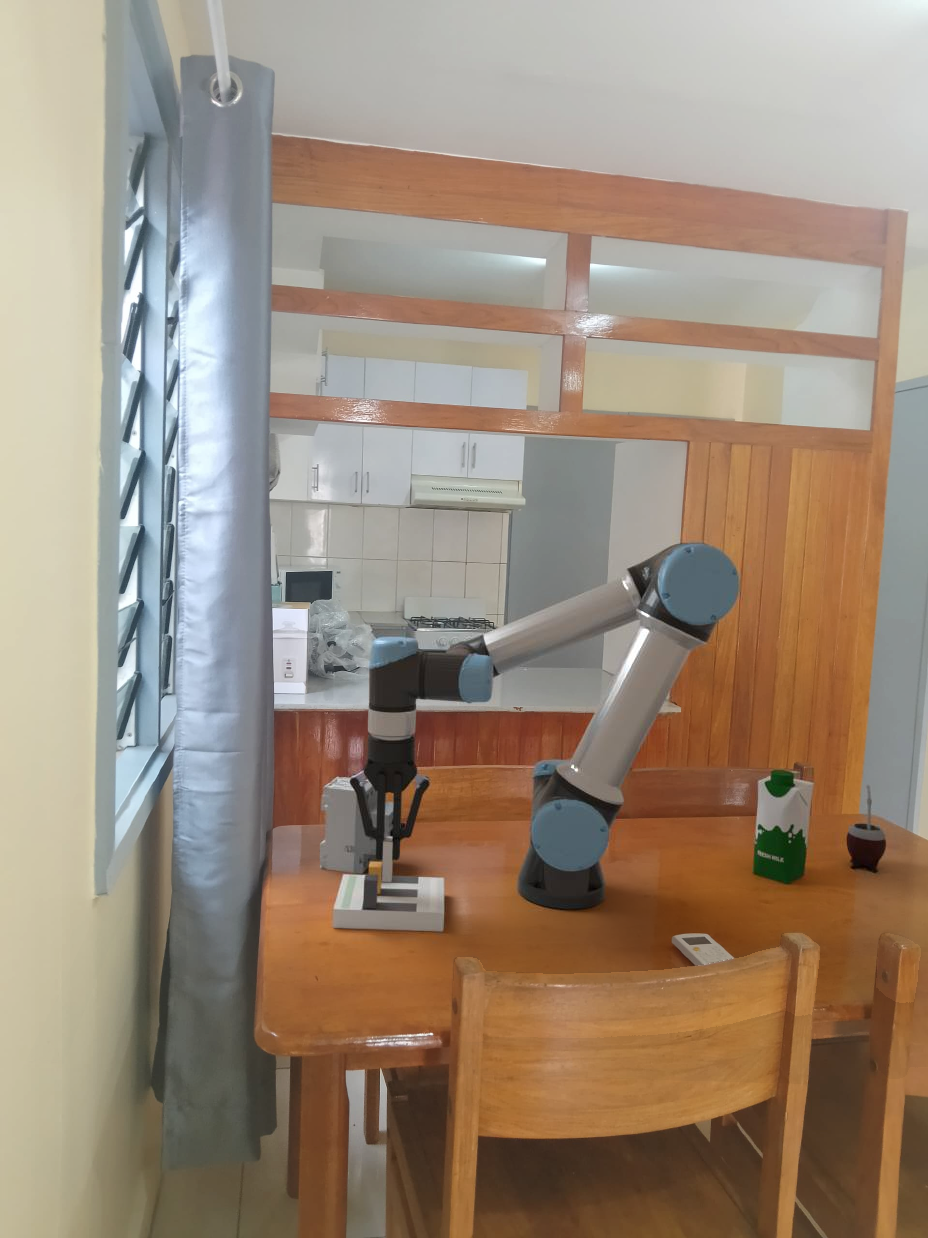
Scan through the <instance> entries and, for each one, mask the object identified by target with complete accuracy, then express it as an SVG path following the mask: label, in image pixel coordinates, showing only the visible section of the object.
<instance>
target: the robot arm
mask: <svg viewBox="0 0 928 1238" xmlns="http://www.w3.org/2000/svg"><path fill="white" fill-rule="evenodd" d="M736 567H737V566H736V565H735V563H734V562H733V561H732V559H731V558H730V557H729V556H728V554H726V553H725V552H723V551H722V550H720V549H718V548H717V547H716V546H714V545H710V544H708V543H705V542H700V541H699V542H698V541H697V542H694V541H693V542H680V543H676V544H673V545H671V546H668V547H666V548H664V549H663V550H661V551H659V552H657V553H656V554H654V555H653V556H651V557H649V558H646V559H645V560H643V561H641V562H640V563H637V564H634V565H633V566H630V567H628V568H625V569H624V570H623V573H622V575H621V576H620V577H619V578H617V579H615V580H612V581H610V582H607V583H605V584H602V585H600V586H597V587H595V588H593V589H590V590H587V591H585V592H583V593H580V594H579V595H575V596H573V597H570V598H568V599H566V600H562V601H560V602H558V603H556V604H553V605H551V606H548V607H546V608H544V609H541V610H539V611H536V612H534V613H531V614H529V615H526V616H524V617H522V618H520V619H517V620H515V621H512V622H510V623H507V624H505V625H502V626H500V627H498V628H494V629H492V630H490V631H487V632H485V633H483V634H481V635H478V636H476V637H473V638H471V639H468V640H464V641H463V640H462V641H459V642H456V643H454V644H452V645H451V646H449V648H447V649H446V650H445V652H429V651H423V650H420V648H419V642H418V640H417V639H416V638H412V637H406V636H405V637H404V636H380V637H378V638H376V639H375V640H373V641H372V643H371V649H370V658H369V659H370V661H369V666H368V669H369V671H368V672H369V679H368V680H369V684H368V685H369V687H368V688H369V689H368V691H369V692H368V713H367V714H368V715H367V716H368V717H367V732H368V733H369V735H368V736H367V747H366V748H367V749H366V750H367V752H366V753H367V755H366V763H365V764H364V766H363V767H364V768H363V770H362V771H360V772H359V773H357V774H356V773H355V774H352V775H351V777H350V778H351V779H350V784H351V786H352V787H353V789H354V791H355V792H356V795H357V800H358V804H359V809H360V814H361V818H362V823H363V827H364V832H365V835H366V836H367V837H372V838H374V839H375V840H376V859H377V860H382V882H391V881H392V876H393V866H394V865H393V864H394V861H399V859H400V857H401V856H400V855H401V841H402V840H403V839H409V838H411V836H412V834H413V830H414V826H415V822H416V820H417V817H418V813H419V809H420V805H421V802H422V798H423V795H424V794H425V792H426V791H427V790H428V788H429V787H430V782H431V781H430V780H431V779H430V777H429V776H428V775H427V776H424V775H423V774H421V773H419V772H418V768H417V765H416V763H415V756H416V755H415V752H416V751H415V750H416V749H415V748H416V737H414V734H415V733H416V722H417V721H416V720H417V718H416V717H417V700H424V701H426V700H430V701H431V700H432V701H442V702H444V701H445V702H456V703H458V702H459V703H466V704H472V703H489V701H490V700H491V699H492V695H493V687H494V678H496V677H497V676H500V675H502V674H505V673H507V672H510V671H512V670H515V669H517V668H519V667H523V666H525V665H527V664H530V663H532V662H534V661H535V662H536V661H537V660H540V659H543V658H545V657H547V656H550V655H552V654H555V653H558V652H560V651H563V650H566V649H567V648H570V647H573V646H576V645H578V644H580V643H583V642H585V641H588V640H591V639H594V638H595V637H598V636H601V635H603V634H606V633H609V632H610V631H613V630H615V629H618V628H621V627H623V626H626V625H628V624H630V623H634V622H636V621H639V626H638V628H637V630H636V631H635V633H634V636H633V638H632V639H631V642H630V643H629V645H628V647H627V649H626V651H625V653H624V655H623V657H622V659H621V661H620V663H619V665H618V667H617V669H616V671H615V673H614V674H613V677H612V679H611V681H610V683H609V684H608V686H607V688H606V690H605V692H604V694H603V697H602V698H601V700H600V702H599V704H598V706H597V708H596V710H595V712H594V714H593V716H592V718H591V720H590V722H589V724H588V725H587V727H586V729H585V732H584V733H583V734H582V737H581V740H580V741H579V743H578V746H576V749H575V751H574V753H573V754H572V756H571V759H570V760H569V759H543V760H540V761H537V762H536V763H535V765H534V769H533V774H532V776H531V777H532V798H531V799H532V800H531V802H532V803H531V815H530V816H531V817H530V819H531V820H530V826H529V836H530V838H529V847H528V849H527V852H526V855H525V857H524V860H523V862H522V864H521V867H520V870H519V872H518V875H517V887H516V888H517V892H518V894H520V896H522V897H523V898H524V899H526V900H528V901H530V902H532V903H535V904H536V905H540V906H543V907H549V908H554V909H561V910H577V909H578V910H579V909H587V908H591V907H594V906H597V905H598V904H600V903H602V902H603V901H604V900H605V897H606V895H605V894H606V881H605V876H604V873H603V869H602V865H601V861H600V860H601V859H602V857H604V854H605V853H606V850H607V848H608V845H609V842H610V829H611V828H612V825H613V823H614V822H615V819H616V818H617V816H618V813H619V812H620V810H621V808H622V807H623V804H624V802H625V799H624V795H623V793H622V789H621V786H622V784H623V782H624V780H625V778H626V776H627V775H628V773H629V770H630V769H631V767H632V766H633V763H634V761H635V759H636V757H637V755H638V754H639V751H640V749H641V748H642V746H643V744H644V742H645V740H646V739H647V737H648V734H649V732H650V730H651V728H652V727H653V724H654V722H655V720H656V719H657V716H658V715H659V713H660V711H661V709H662V708H663V705H664V703H665V701H666V700H667V697H668V696H669V693H670V692H671V690H672V687H673V686H674V684H675V682H676V680H677V679H678V676H679V675H680V673H681V671H682V668H683V666H684V665H685V664H686V663H685V662H686V661H687V659H688V657H689V655H690V653H691V652H692V651H693V650H694V649H696V648H700V647H702V646H706V645H707V643H708V641H709V639H710V637H711V636H712V634H713V632H714V630H715V628H716V626H717V624H718V622H719V621H720V620H722V619H723V618H724V617H725V616H727V614H729V613H730V612H731V610H732V609H733V607H734V606H735V604H736V602H737V600H738V597H739V593H740V576H739V572H738V569H737V568H736ZM366 778H367V779H366ZM366 780H369V782H370V783H371V784H372V786H373V787H374V789H375V790H376V791H377V825H376V828H375V827H373V823H372V818H371V814H370V809H369V805H368V800H367V795H366V791H365V787H364V786H365V784H366ZM413 780H414V786H413V787H414V788H415V791H414V794H413V797H412V801H411V804H410V808H409V812H408V814H407V818H406V822H405V828H402V829H401V823H402V801H403V792H404V791H405V790H406V789H407V787H409V785H410V784H411V783H412V782H413ZM387 793H391V794H393V797H392V798H393V801H392V802H393V836H392V837H389V836H384V833H385V805H386V802H387V801H386V800H387V799H386V798H387Z"/></svg>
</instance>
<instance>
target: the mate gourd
mask: <svg viewBox="0 0 928 1238" xmlns="http://www.w3.org/2000/svg"><path fill="white" fill-rule="evenodd" d="M870 787H871V786H870V785H869V784H868V785H866V791H867V792H866V794H867V799H866V803H867V823H862V822H860V823H859V822H857V823H854V824H852V825H851V826H850V827H849V829H848V830H847V831H848V833H846V848H847V851H848V853H849V856H850V857H851V859H850V863H851V864H852V865H850V869H851V870H860V869H864V870H867V871H869V872H871V873H874V874H877V873H878V872H879V870H878V869H877V867H878V865H879V862H880V860H881V859H882V858H883V856H884V854H885V852H886V848H887V841H886V835H885V833H884V830H883V829H882V828H880V827H879V826H876V825H874V824H871V819H872V817H871V816H872V814H871V813H872V811H871V810H872V802H873V801H872V798H871V797H872V796H871V788H870Z"/></svg>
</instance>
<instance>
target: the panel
mask: <svg viewBox="0 0 928 1238" xmlns="http://www.w3.org/2000/svg"><path fill="white" fill-rule="evenodd" d="M364 879H365V874H349V873H348V874H345V873H343V874H342V877H341V881H340V885H339V888H338V892H337V894H336V899H335V902H334V905H333V908H332V909H333V914H332V928H333V929H355V930H356V929H357V930H358V929H359V930H386V931H387V930H389V931H413V932H415V931H418V932H419V931H420V932H421V931H423V932H444V926H445V878H444V877H432V876H430V877H429V876H412V875H411V876H408V875H407V876H406V875H392V881H391V882H382V884H381V893H380V894H377V906H376V908H363V897H364Z"/></svg>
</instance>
